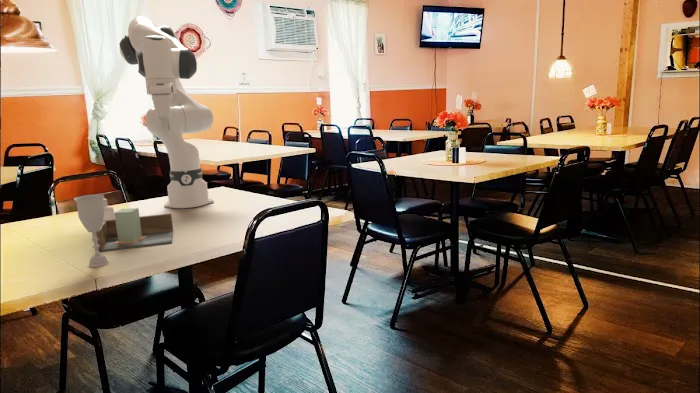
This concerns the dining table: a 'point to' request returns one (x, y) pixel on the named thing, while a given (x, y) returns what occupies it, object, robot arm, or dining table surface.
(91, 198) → the chalice
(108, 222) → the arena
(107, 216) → the eye dropper bottle
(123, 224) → the sage block
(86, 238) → the dining table surface
